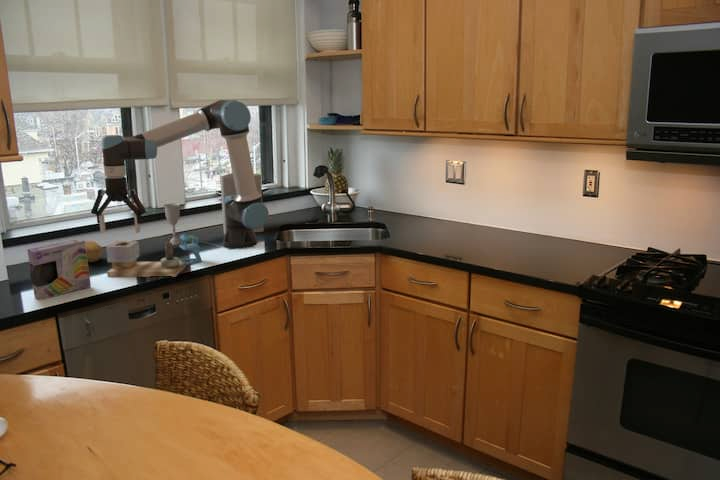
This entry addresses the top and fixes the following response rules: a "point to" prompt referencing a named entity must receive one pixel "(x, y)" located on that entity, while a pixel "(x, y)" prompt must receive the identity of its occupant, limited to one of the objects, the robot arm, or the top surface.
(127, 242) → the collar
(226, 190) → the cream rectangular carton
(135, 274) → the board
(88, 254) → the potato
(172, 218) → the chalice
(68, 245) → the cake pan box
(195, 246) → the chair
